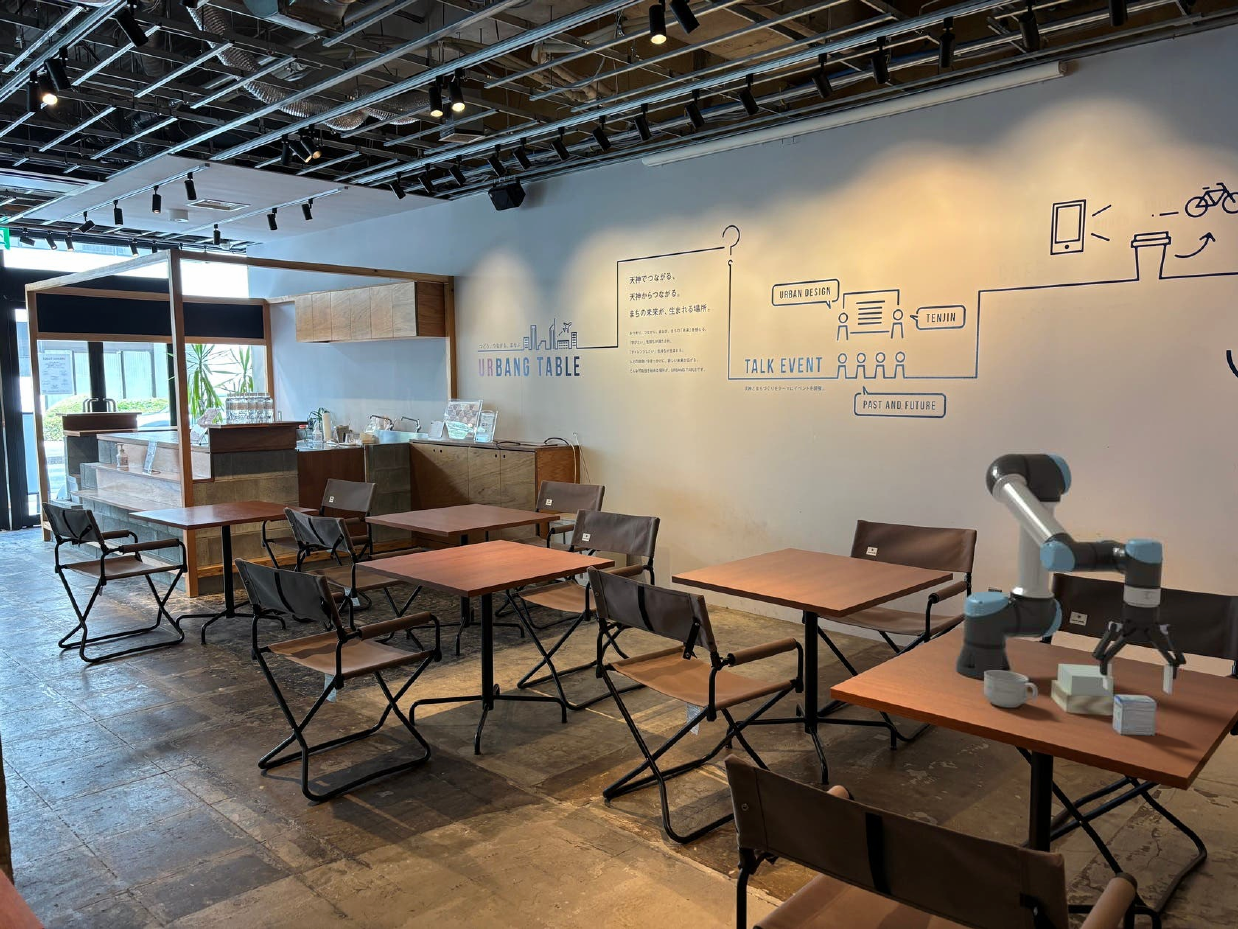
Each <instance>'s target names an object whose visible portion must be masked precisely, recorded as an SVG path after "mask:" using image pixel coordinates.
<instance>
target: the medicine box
mask: <svg viewBox="0 0 1238 929" xmlns="http://www.w3.org/2000/svg"><path fill="white" fill-rule="evenodd" d="M1156 714H1157V701H1155V700H1154V699H1153V698H1151V697H1149V696H1148V695H1143V694H1142V695H1139V694H1117V693H1116V694H1114V712H1113V716H1112V729H1114V730H1115V731H1116V733H1118V734H1119V735H1132V736H1133V735H1134V736H1135V735H1137V736H1151V735H1152V736H1155V730H1156V718H1157V717H1156Z"/></svg>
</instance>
